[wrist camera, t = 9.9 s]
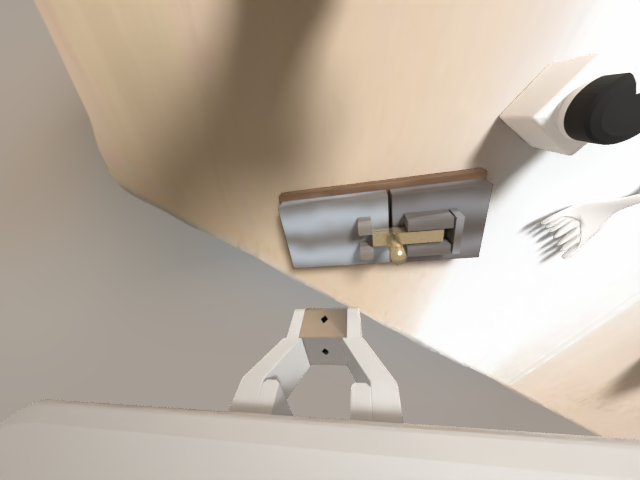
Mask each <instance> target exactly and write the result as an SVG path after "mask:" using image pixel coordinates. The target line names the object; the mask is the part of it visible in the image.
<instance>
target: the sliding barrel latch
mask: <svg viewBox="0 0 640 480" xmlns="http://www.w3.org/2000/svg"><path fill="white" fill-rule="evenodd" d="M486 176H487V170H485V169H483V168H475V169H467V170H459V171H451V172H443V173H435V174H427V175H419V176H411V177H403V178H395V179H387V180H380V181H372V182H364V183H356V184H348V185H340V186H332V187H324V188H316V189H308V190H300V191H292V192H284V193H281V194H280V196H279V200H280V204H281V205H280V206H279V208H278V210H279V214H280V218H281V222H282V225H283V229H284V233H285V236H286V240H287V244H288V247H289V251H290V255H291V258H292V262H293V266H294V268H304V267H321V266H337V265H354V264H371V263H388V262H390V259H389V257H390V253H389V249H388V246H374V247H373V241H372V229H380V228H391V227H403V226H406V228H407V231H408V232H410V231H422V230H434V229H444V236H443V242H429V243H415V244H402V245H403V248H404V250H405V253H406V256H407V259H406V261H422V260H439V259H455V258H472V257H479V252H480V247H481V242H482V237H483V232H484V227H485V222H486V217H487V212H488V207H489V202H490V197H491V192H492V187H493V184H492V183H490V182H488V181H487V180H486Z"/></svg>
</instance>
